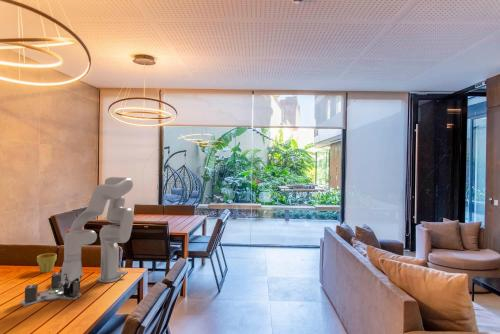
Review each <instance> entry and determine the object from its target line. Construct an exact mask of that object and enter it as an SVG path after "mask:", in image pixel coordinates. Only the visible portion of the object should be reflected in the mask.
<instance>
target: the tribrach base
mask: <svg viewBox="0 0 500 334" xmlns="http://www.w3.org/2000/svg"><path fill="white" fill-rule="evenodd" d="M81 295H83V294H82V293H80V292H79V293H78V294H77V295H75V296H73V297H71V296H64V288H63V286H61V287H58V288H51V287H50V288H49V289H46V290H43V291H41V292H40V293H39V295H37V299H36V301H30V302H25V299H24V300H21V301H20V304H21V305H22V306H23V307H27V306H30V305H34V304H37V303H40V302H45V301H46V302H48V301H49V302H50V301H51V302H52V301H56V300H57V301H58V300H60V299H61V300H71V299H73V301H75V300H77V299H78V297H79V298H80V297H82V296H81Z"/></svg>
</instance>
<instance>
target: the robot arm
mask: <svg viewBox="0 0 500 334" xmlns="http://www.w3.org/2000/svg"><path fill="white" fill-rule="evenodd" d="M133 187H134V182H133V180H132V179H131V178H129V177H119V176H110V177H107V178H106V179H105V180H104V183H103V184H102V183H101V184H98V185H96V186H95V187H94V189H93V192H92V193H91V196H90V200H89V202H88V205H87V206H86V209H85V210H84V211H82V212H81V213H80V214H79V215H78V216H77V217H76V218H75V219H74V220H73V222H72V225H71V227H70V228H69V232H67V233H65V235H64V242H63V243H64V244H63V245H64V246H63V247H64V248H63V249H64V250H63V251H64V252H63V254H64V255H63V262H62V266H61V268H62V272H61V282H60V284H61V285H62V286H63V287H62V288H64V296H70V283H71V281H73V280H76V281H79V291H80V290H81V280H82V277H83V274H84V271H83V265H82V264H83V263H82V246H87V245H91V244H93V243H95V242H96V241H97V239H98V233H96V231H94V230H93V229H83V228H84V227H85V225H86V224H87V223H88V222H89V221H91V220H92V219H94V218H97V217H100V216H101V215H103V213H104V210H105V209H106V205H107V203H108V201H109V203H108V204H109V205H108V207H107V213H106V221H107V222H109V223H112V224H107V225H104V226H102V227H101V229H100V230H99V240H100V250H101V251H100V275H99V276H98V277H97V282H99V283H105V284H106V283H113V282H117V281H119V280H121V278H122V276H126V275H127V271H125V270H120V269H119V259H120V258H119V257H120V256H119V255H120V253H119V252H120V251H119V250H120V248H119V244H125V243H127V242H129V240H130V238H131V233H132V230H133V225H134V219H135V213H134V211H133V209H132V208H129V207H125V204H126V197H125V195H126V194H128V193H129V192H130V191H131V190H132V189H133ZM114 224H119V225H114ZM118 243H119V244H118ZM67 280H68V281H67ZM67 282H68V285H67V284H66V283H67Z"/></svg>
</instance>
